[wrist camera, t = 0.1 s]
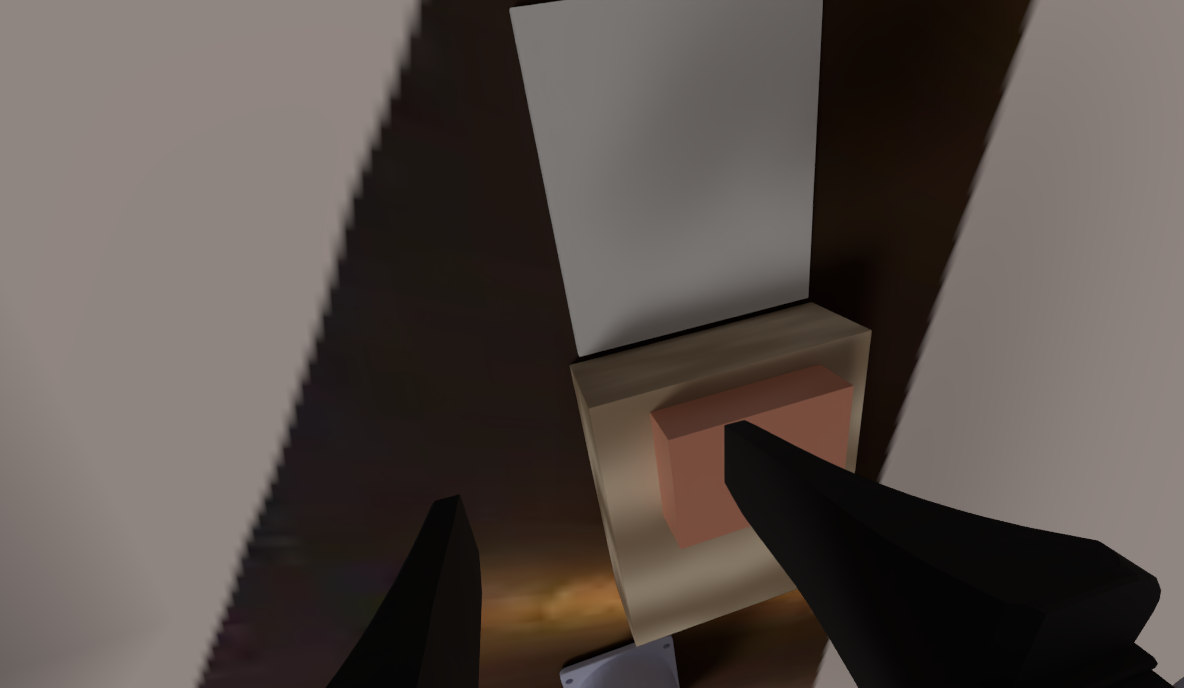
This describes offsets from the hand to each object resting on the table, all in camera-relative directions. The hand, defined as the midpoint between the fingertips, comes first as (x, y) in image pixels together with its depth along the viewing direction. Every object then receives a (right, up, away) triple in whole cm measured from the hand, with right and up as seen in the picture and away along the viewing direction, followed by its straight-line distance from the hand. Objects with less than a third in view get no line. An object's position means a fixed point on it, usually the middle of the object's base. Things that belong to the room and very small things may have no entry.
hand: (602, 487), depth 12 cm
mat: (+4, +11, +7) cm, 14 cm away
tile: (+6, -1, +9) cm, 11 cm away
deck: (+6, -3, +14) cm, 16 cm away
